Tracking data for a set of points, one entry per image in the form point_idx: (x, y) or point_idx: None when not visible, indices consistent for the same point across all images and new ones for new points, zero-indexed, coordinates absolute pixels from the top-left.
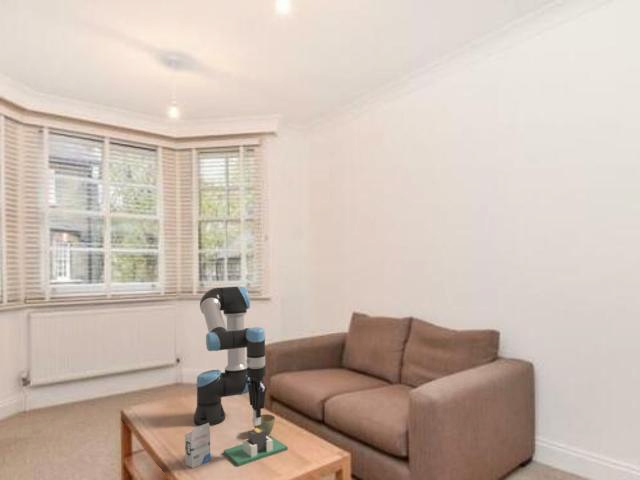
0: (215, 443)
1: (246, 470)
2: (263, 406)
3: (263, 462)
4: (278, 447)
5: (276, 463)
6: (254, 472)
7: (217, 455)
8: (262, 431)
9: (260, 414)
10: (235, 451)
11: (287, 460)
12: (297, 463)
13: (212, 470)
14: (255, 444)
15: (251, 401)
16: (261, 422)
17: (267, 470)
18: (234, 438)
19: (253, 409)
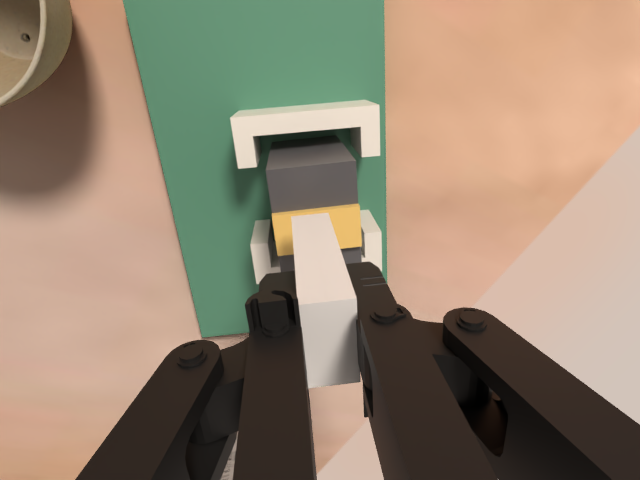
0: (56, 331)
1: (444, 290)
2: (506, 333)
3: (429, 194)
4: (353, 45)
5: (487, 138)
6: (487, 267)
7: None
8: (355, 195)
9: (382, 279)
10: (252, 292)
11: (504, 63)
12: (578, 26)
13: (348, 399)
14: (368, 238)
15: (219, 465)
16: (35, 64)
17: (515, 210)
18: (21, 225)
19: (320, 381)
